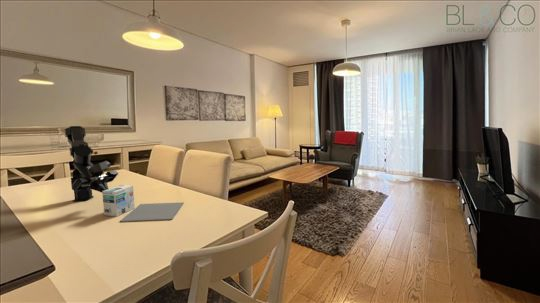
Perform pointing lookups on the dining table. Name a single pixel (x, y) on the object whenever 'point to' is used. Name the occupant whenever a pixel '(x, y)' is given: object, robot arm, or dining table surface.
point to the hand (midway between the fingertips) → (108, 193)
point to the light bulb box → (118, 200)
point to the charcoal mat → (153, 212)
